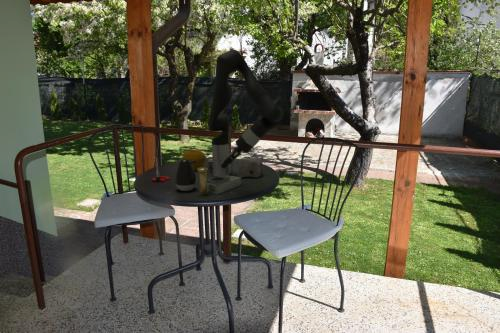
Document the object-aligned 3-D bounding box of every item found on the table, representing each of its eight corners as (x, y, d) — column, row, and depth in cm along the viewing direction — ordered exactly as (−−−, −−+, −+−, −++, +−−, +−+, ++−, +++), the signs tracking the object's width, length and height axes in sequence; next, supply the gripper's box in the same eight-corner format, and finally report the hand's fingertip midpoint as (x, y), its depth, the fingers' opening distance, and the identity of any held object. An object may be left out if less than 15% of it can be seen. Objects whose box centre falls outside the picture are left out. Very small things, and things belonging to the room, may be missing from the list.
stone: (236, 178, 217) (236, 160, 214) (240, 173, 228) (239, 155, 226) (260, 179, 215) (260, 160, 212) (263, 173, 226) (263, 155, 224)
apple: (194, 166, 247) (193, 147, 244) (210, 168, 239) (209, 149, 237) (178, 170, 237) (177, 151, 234) (195, 173, 229) (194, 153, 227)
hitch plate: (222, 181, 211) (222, 172, 210) (241, 185, 204) (241, 175, 203) (198, 190, 197) (198, 180, 195) (217, 194, 190) (217, 184, 189)
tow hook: (156, 178, 223) (149, 181, 214) (155, 154, 220) (148, 157, 211) (171, 178, 221) (165, 182, 212) (170, 154, 219) (164, 157, 210)
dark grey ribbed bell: (198, 191, 195) (197, 160, 191) (176, 193, 192) (174, 162, 188) (195, 185, 204) (193, 156, 201) (174, 188, 202) (172, 157, 198)
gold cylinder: (203, 191, 194) (202, 166, 191) (211, 193, 191) (209, 168, 188) (196, 194, 190) (195, 168, 187) (204, 196, 187) (202, 170, 185)
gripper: (244, 132, 189) (220, 156, 193) (240, 137, 175) (214, 163, 179) (255, 143, 190) (232, 167, 194) (252, 149, 176) (227, 174, 180)
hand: (223, 165), depth 187 cm, fingers open, 8 cm apart
